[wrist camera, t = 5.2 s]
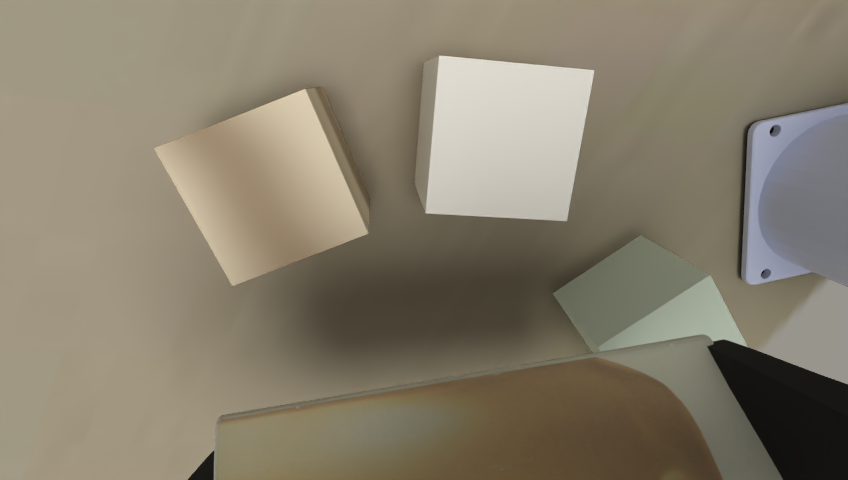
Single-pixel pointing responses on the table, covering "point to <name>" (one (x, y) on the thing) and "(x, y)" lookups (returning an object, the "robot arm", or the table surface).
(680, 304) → the cube sage
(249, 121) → the cube beech
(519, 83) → the cube cream
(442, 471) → the skincare box
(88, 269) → the table surface
